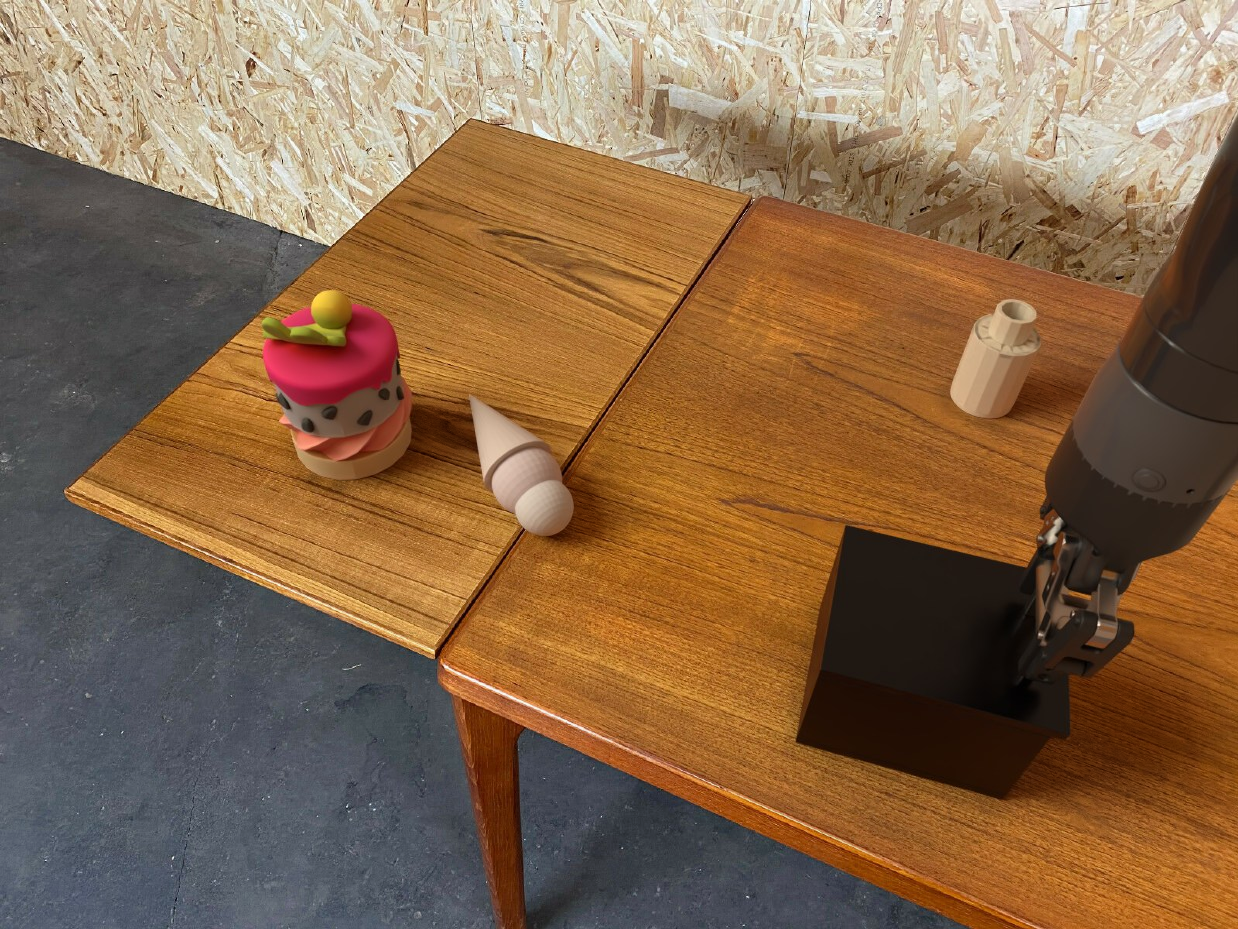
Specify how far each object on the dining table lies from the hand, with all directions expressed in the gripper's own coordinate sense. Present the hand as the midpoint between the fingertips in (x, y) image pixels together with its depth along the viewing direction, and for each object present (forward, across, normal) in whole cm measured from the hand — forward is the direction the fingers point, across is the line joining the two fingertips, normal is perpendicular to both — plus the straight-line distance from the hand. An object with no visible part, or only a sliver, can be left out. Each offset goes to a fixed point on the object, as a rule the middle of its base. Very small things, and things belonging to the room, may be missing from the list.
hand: (1035, 631), depth 58 cm
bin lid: (+2, 0, +5) cm, 5 cm away
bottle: (+11, +33, +1) cm, 35 cm away
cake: (+11, +11, +53) cm, 56 cm away
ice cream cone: (+11, +10, +38) cm, 41 cm away
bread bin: (+11, 0, +5) cm, 12 cm away
